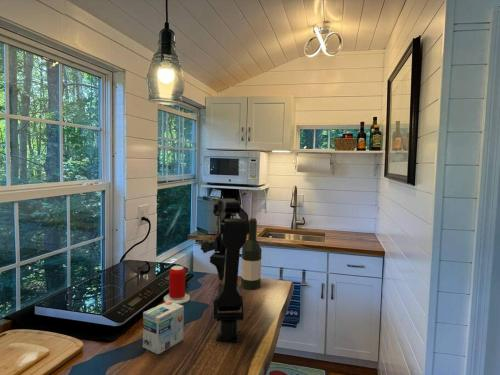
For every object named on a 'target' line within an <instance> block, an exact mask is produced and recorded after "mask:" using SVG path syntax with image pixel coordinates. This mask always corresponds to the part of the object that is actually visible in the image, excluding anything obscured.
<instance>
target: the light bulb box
mask: <svg viewBox="0 0 500 375" xmlns="http://www.w3.org/2000/svg"><path fill="white" fill-rule="evenodd" d="M184 315H185V306H184V305H181V304H176V303H173V302H171V301H167V302H165V301H164V302H163V303H161V304H158V305H157V306H155V307H154V306H153V307H152V308H150V309H148V310H146V311H143V312H142V316H143V317H142V318H143V319H142V348H144V349H146V350H147V351H150V352H152V353H154V354H156V355H159V354H161V353H164V352H165V351H167V350H168V349H170V348H173V346H175V345H176V344H179V343H180V342H181V341H183V340H184V322H185V320H184V318H185V317H184Z"/></svg>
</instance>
